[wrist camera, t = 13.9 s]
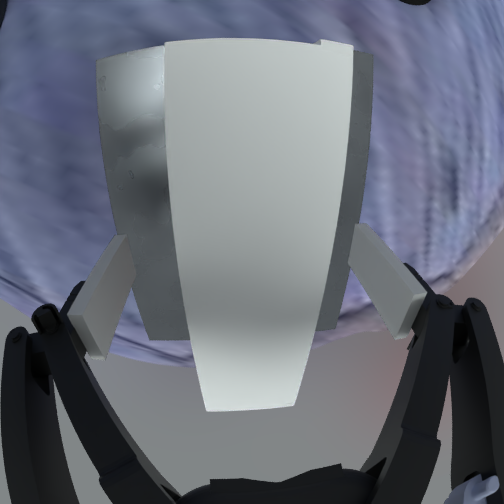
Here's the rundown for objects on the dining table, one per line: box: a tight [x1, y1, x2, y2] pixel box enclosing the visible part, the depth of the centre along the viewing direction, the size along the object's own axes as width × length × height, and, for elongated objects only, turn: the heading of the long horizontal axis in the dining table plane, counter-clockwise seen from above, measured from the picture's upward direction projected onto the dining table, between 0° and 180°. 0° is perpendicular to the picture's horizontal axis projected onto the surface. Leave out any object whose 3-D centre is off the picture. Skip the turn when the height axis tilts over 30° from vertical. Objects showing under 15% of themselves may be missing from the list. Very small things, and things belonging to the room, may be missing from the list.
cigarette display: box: [164, 38, 353, 411], centre depth 15 cm, size 20×6×9 cm, turn 179°
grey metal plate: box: [96, 43, 373, 340], centre depth 23 cm, size 18×24×10 cm
